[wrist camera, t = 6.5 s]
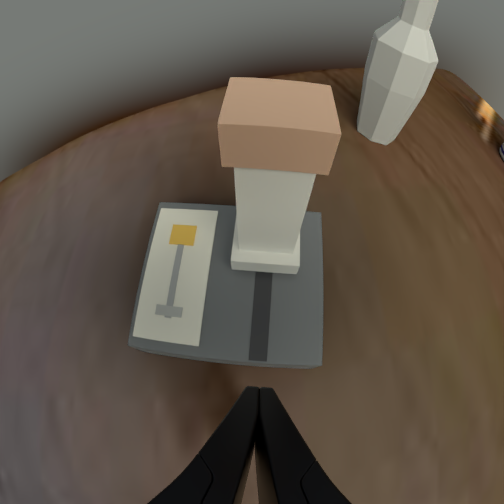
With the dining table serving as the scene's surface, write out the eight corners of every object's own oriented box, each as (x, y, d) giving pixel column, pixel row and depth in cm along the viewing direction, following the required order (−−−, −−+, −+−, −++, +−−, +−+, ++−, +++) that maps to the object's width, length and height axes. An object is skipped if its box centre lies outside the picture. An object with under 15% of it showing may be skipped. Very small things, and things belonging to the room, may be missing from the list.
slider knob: (296, 274, 17) (343, 144, 8) (231, 269, 17) (214, 134, 8) (297, 216, 19) (329, 79, 10) (238, 212, 19) (231, 71, 10)
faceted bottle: (395, 159, 26) (473, -33, 7) (340, 131, 28) (388, -68, 8) (405, 129, 29) (466, -31, 9) (357, 106, 30) (398, -59, 10)
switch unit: (311, 368, 18) (323, 365, 15) (144, 351, 18) (125, 344, 15) (312, 234, 22) (321, 210, 19) (169, 224, 23) (158, 199, 20)
